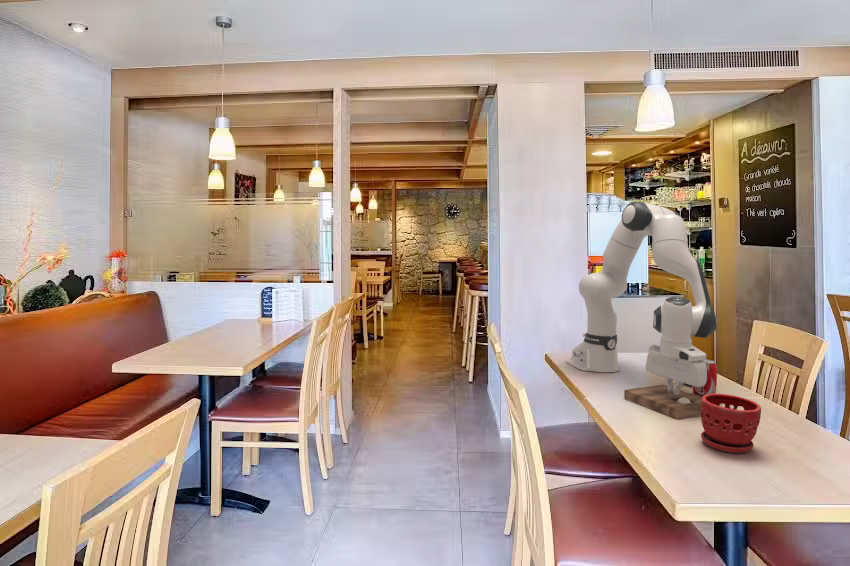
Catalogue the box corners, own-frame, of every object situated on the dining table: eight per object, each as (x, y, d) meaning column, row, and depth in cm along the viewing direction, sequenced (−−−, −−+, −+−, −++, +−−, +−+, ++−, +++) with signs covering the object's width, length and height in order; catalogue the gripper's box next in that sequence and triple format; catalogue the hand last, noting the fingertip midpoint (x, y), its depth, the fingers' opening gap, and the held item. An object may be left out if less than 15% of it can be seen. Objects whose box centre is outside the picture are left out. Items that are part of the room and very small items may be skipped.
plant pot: (695, 449, 131) (698, 402, 130) (702, 433, 142) (704, 390, 141) (757, 462, 124) (760, 412, 123) (759, 444, 135) (762, 398, 134)
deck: (624, 398, 172) (624, 389, 172) (662, 393, 179) (662, 384, 178) (677, 419, 153) (677, 409, 152) (718, 412, 159) (718, 402, 159)
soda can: (718, 399, 172) (720, 364, 171) (695, 398, 173) (697, 362, 172) (711, 393, 179) (713, 359, 178) (689, 392, 180) (691, 357, 179)
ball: (671, 401, 162) (680, 396, 159) (681, 399, 164) (690, 395, 161) (677, 413, 160) (686, 409, 157) (687, 411, 162) (696, 407, 159)
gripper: (642, 344, 171) (640, 385, 172) (696, 357, 152) (693, 403, 154) (656, 342, 174) (654, 383, 175) (711, 355, 155) (709, 401, 156)
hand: (673, 393), depth 164 cm, fingers closed
